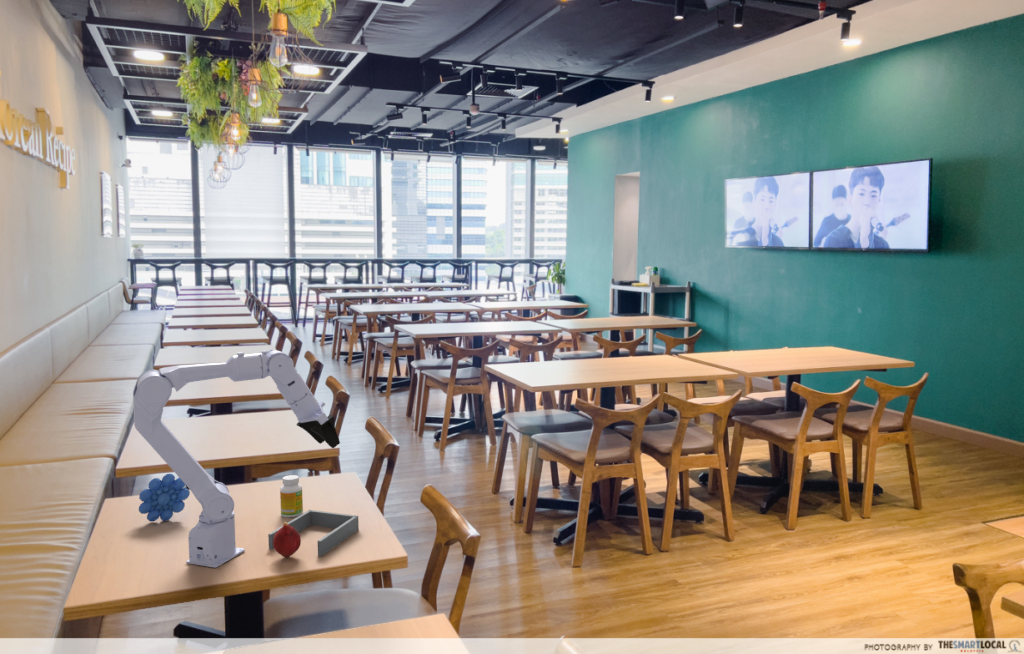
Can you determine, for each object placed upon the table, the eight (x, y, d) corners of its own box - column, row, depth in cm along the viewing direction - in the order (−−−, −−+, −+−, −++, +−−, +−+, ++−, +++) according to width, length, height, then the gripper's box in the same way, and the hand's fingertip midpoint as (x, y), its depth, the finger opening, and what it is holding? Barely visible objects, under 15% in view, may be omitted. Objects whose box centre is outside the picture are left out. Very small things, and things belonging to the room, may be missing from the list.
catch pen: (321, 556, 156) (320, 541, 155) (268, 548, 160) (268, 534, 160) (358, 529, 171) (358, 515, 171) (310, 523, 175) (309, 509, 175)
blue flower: (191, 512, 183) (189, 467, 182) (190, 521, 177) (188, 474, 176) (141, 518, 179) (139, 472, 178) (138, 527, 173) (135, 479, 172)
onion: (305, 552, 158) (304, 517, 157) (295, 563, 152) (293, 527, 151) (280, 551, 158) (279, 517, 158) (269, 562, 153) (267, 526, 152)
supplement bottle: (299, 518, 179) (297, 480, 178) (277, 517, 179) (276, 480, 178) (305, 510, 184) (304, 474, 183) (285, 510, 184) (283, 474, 183)
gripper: (324, 388, 158) (355, 436, 162) (302, 384, 170) (331, 429, 174) (298, 407, 154) (331, 456, 159) (277, 401, 166) (307, 447, 170)
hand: (329, 443), depth 166 cm, fingers open, 7 cm apart
